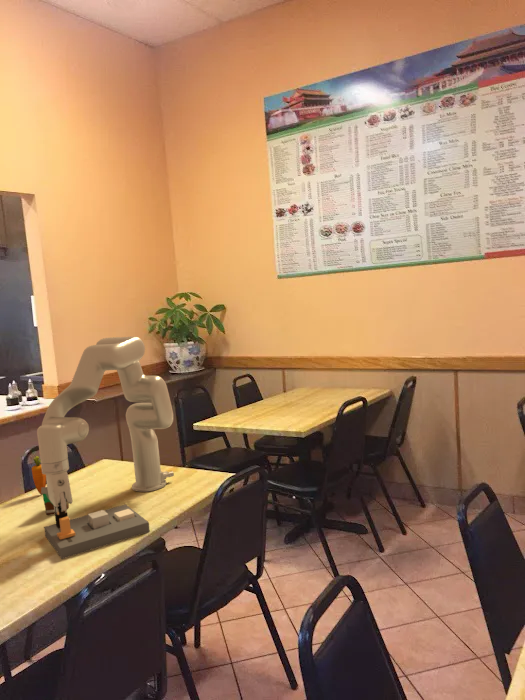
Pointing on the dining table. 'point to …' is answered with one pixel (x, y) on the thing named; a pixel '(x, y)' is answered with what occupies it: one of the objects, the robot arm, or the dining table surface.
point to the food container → (49, 502)
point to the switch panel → (96, 533)
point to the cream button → (124, 515)
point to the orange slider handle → (65, 528)
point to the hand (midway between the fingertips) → (62, 525)
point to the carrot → (38, 475)
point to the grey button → (98, 519)
